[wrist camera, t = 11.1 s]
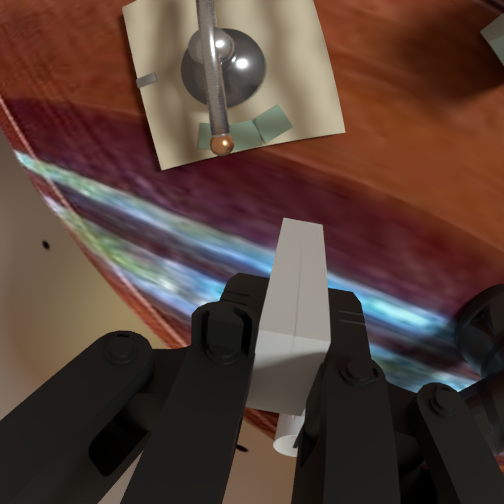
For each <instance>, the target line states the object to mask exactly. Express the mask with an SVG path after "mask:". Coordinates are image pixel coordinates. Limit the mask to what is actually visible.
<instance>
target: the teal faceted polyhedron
mask: <svg viewBox="0 0 504 504" xmlns="http://www.w3.org/2000/svg"><path fill="white" fill-rule="evenodd" d="M480 34H481V35H482V36H483V38H484V39H485V40H486V42H487V43H488V44H489V46H490V47H491V49H492V50H493V51H494V53H495V54H496V56H497V57H498V59H499V60H500V62H501V63H502V65H503V66H504V13H502V14H501V15H500V16H499V17H497V18H496V19H495V20H494V21H492V22H491V23H490V24H489V25H488V26H486V27H485V28H484V29H483V30H481V31H480Z"/></svg>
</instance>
